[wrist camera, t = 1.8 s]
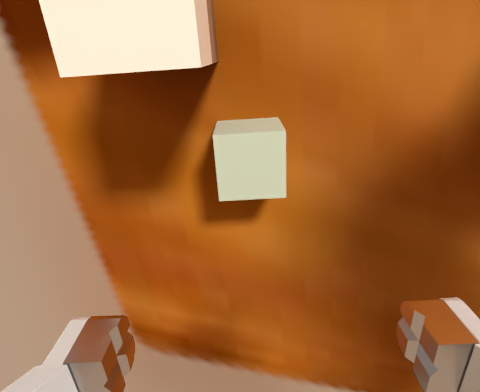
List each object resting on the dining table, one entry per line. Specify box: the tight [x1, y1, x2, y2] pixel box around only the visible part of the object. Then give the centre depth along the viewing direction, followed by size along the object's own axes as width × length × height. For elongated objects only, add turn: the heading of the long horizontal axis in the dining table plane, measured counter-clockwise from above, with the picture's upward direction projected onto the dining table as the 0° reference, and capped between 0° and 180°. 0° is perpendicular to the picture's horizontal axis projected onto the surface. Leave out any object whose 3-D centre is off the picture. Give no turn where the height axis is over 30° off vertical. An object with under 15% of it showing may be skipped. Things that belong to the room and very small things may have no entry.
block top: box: [39, 0, 212, 77], centre depth 15 cm, size 6×6×6 cm
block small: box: [213, 117, 286, 201], centre depth 25 cm, size 5×5×5 cm
